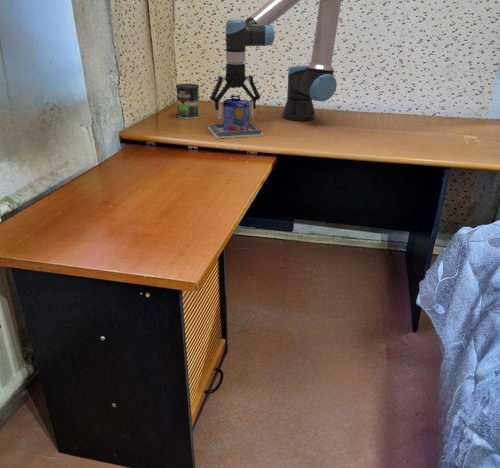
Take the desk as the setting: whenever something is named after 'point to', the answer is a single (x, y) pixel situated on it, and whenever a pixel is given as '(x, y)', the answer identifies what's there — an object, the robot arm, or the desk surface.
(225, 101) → the ink cartridge box
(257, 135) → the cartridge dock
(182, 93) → the coffee can
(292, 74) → the robot arm
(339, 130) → the desk surface
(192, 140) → the desk surface
